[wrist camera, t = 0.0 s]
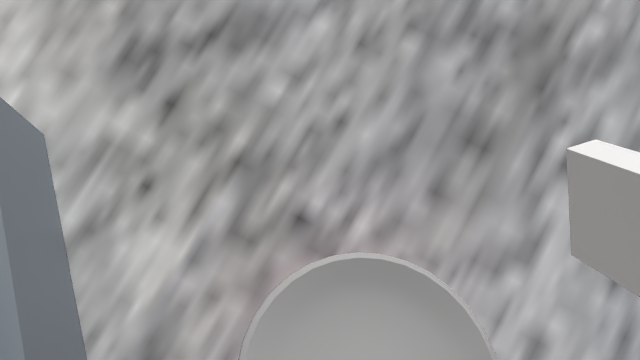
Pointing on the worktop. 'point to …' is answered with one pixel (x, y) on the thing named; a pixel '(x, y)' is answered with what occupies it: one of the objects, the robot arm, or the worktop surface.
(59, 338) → the dock
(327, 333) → the canned food
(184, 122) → the worktop surface
